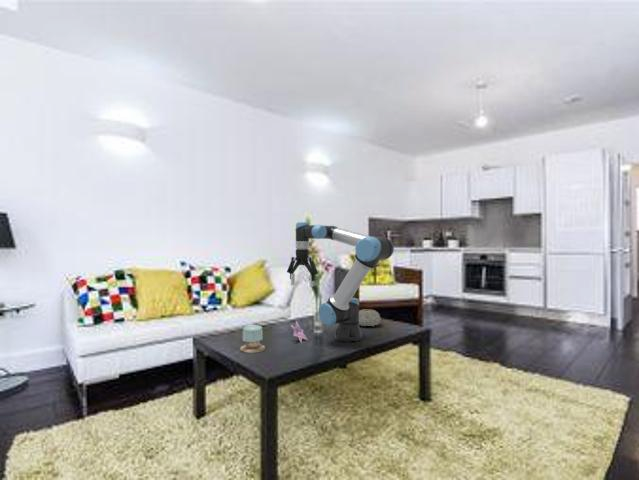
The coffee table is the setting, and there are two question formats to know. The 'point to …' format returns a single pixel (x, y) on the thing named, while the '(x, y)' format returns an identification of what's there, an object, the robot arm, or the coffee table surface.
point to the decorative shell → (369, 317)
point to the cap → (252, 333)
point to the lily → (298, 332)
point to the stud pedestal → (252, 347)
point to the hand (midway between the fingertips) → (302, 285)
